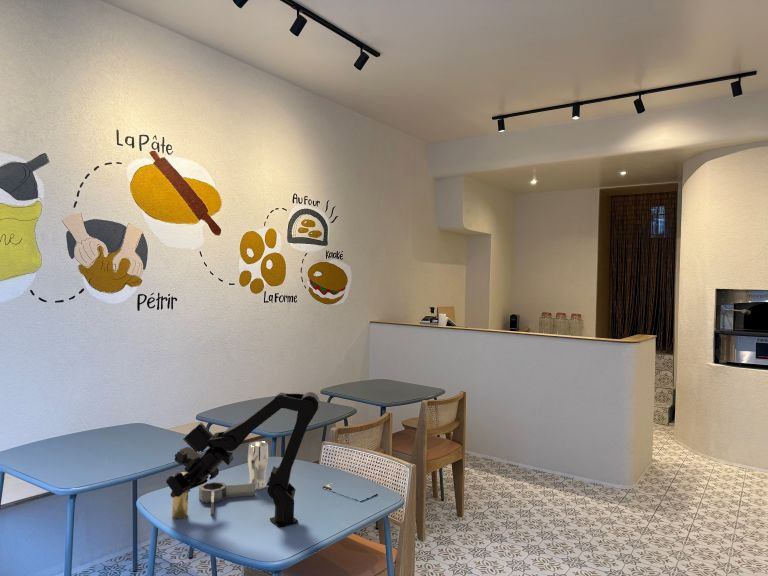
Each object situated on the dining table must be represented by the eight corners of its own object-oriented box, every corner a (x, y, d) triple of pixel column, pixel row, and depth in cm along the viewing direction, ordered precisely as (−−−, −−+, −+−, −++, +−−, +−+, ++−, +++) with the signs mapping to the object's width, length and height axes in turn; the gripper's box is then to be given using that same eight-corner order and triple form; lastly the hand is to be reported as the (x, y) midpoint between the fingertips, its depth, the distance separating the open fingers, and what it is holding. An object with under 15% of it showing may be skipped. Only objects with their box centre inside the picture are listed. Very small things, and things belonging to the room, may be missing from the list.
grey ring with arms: (265, 503, 177) (266, 490, 177) (211, 515, 166) (211, 502, 166) (245, 487, 190) (245, 475, 190) (193, 497, 179) (193, 485, 179)
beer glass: (254, 491, 186) (255, 448, 186) (242, 486, 191) (244, 443, 191) (271, 486, 191) (272, 444, 191) (259, 481, 196) (260, 440, 196)
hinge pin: (189, 516, 165) (190, 475, 165) (174, 520, 162) (175, 478, 162) (184, 511, 168) (186, 471, 168) (170, 514, 165) (171, 473, 166)
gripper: (211, 432, 173) (181, 463, 176) (172, 448, 155) (139, 482, 158) (232, 460, 171) (201, 491, 174) (195, 480, 153) (161, 513, 156)
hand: (176, 493), depth 165 cm, fingers closed on hinge pin, 4 cm apart
